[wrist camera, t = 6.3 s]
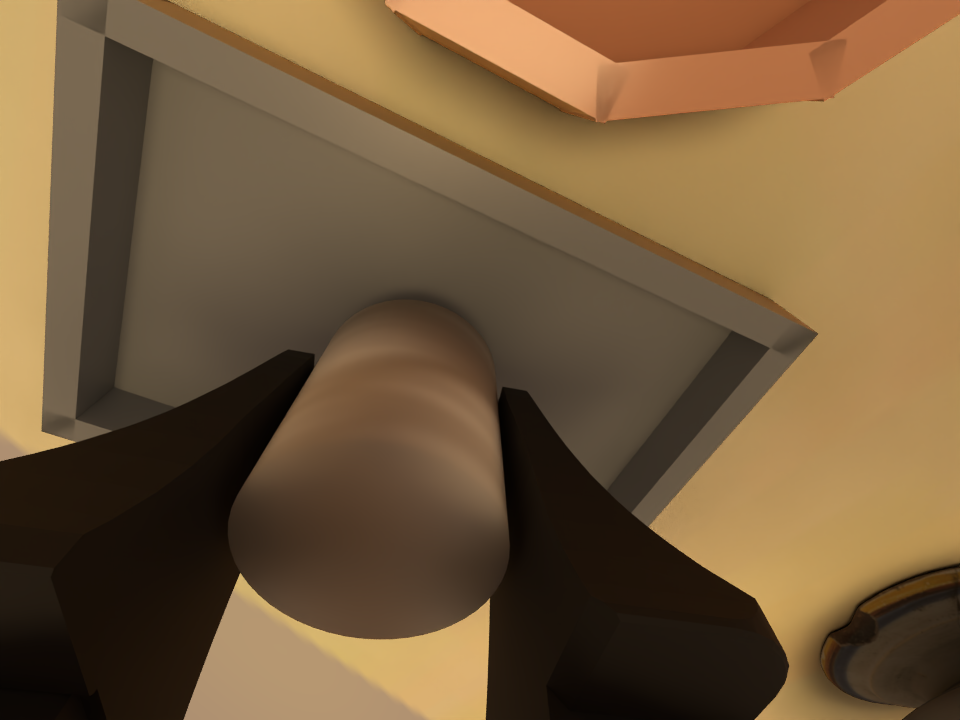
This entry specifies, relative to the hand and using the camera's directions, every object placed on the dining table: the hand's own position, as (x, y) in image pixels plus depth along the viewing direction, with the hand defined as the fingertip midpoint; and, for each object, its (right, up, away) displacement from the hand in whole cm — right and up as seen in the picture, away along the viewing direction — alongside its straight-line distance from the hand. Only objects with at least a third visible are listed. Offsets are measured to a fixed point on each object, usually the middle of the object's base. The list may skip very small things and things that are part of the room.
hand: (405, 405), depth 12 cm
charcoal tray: (0, +2, +3) cm, 3 cm away
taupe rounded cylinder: (0, +1, +1) cm, 1 cm away
